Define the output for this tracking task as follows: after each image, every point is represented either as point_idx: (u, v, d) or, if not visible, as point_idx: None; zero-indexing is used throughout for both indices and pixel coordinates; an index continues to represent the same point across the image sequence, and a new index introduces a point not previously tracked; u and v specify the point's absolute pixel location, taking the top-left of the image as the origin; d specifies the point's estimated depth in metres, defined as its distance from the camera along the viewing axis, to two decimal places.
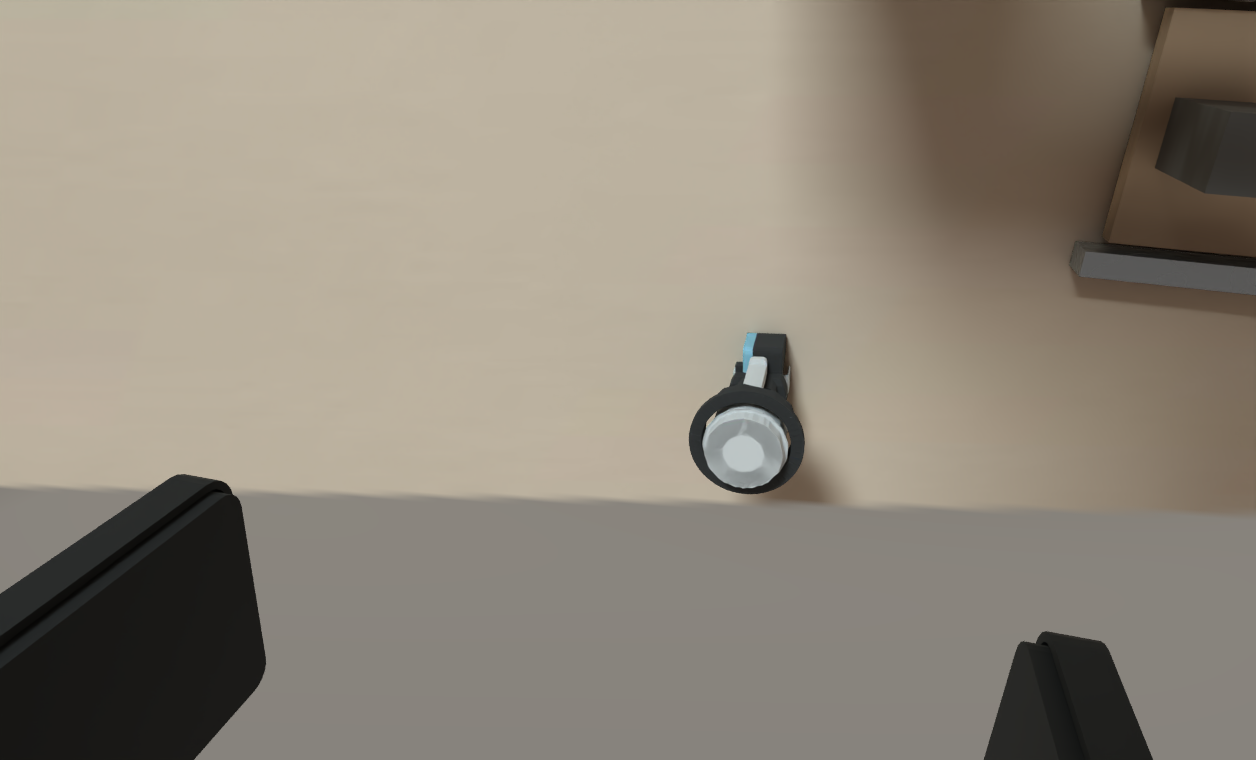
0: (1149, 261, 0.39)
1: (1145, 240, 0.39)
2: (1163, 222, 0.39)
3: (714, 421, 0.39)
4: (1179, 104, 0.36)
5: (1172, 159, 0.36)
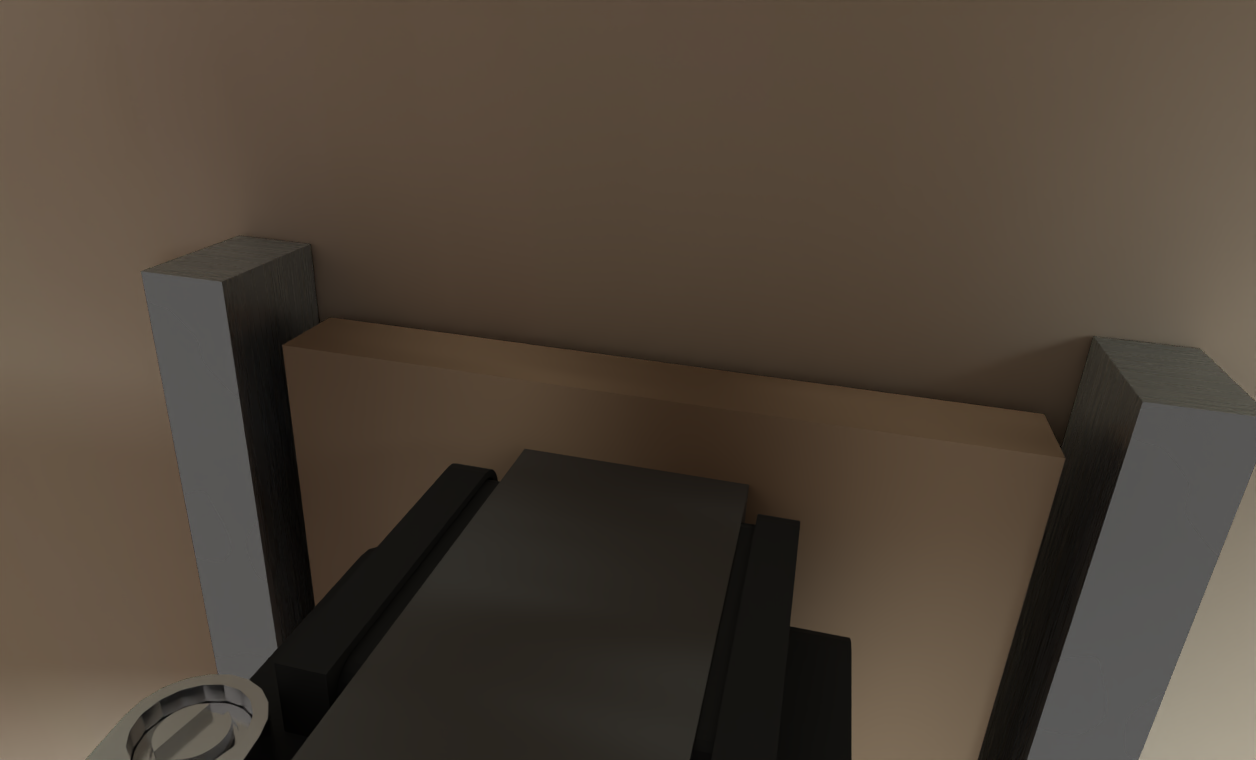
0: (240, 466, 0.12)
1: (310, 444, 0.12)
2: (370, 485, 0.12)
3: None
4: (724, 510, 0.10)
5: (525, 528, 0.10)
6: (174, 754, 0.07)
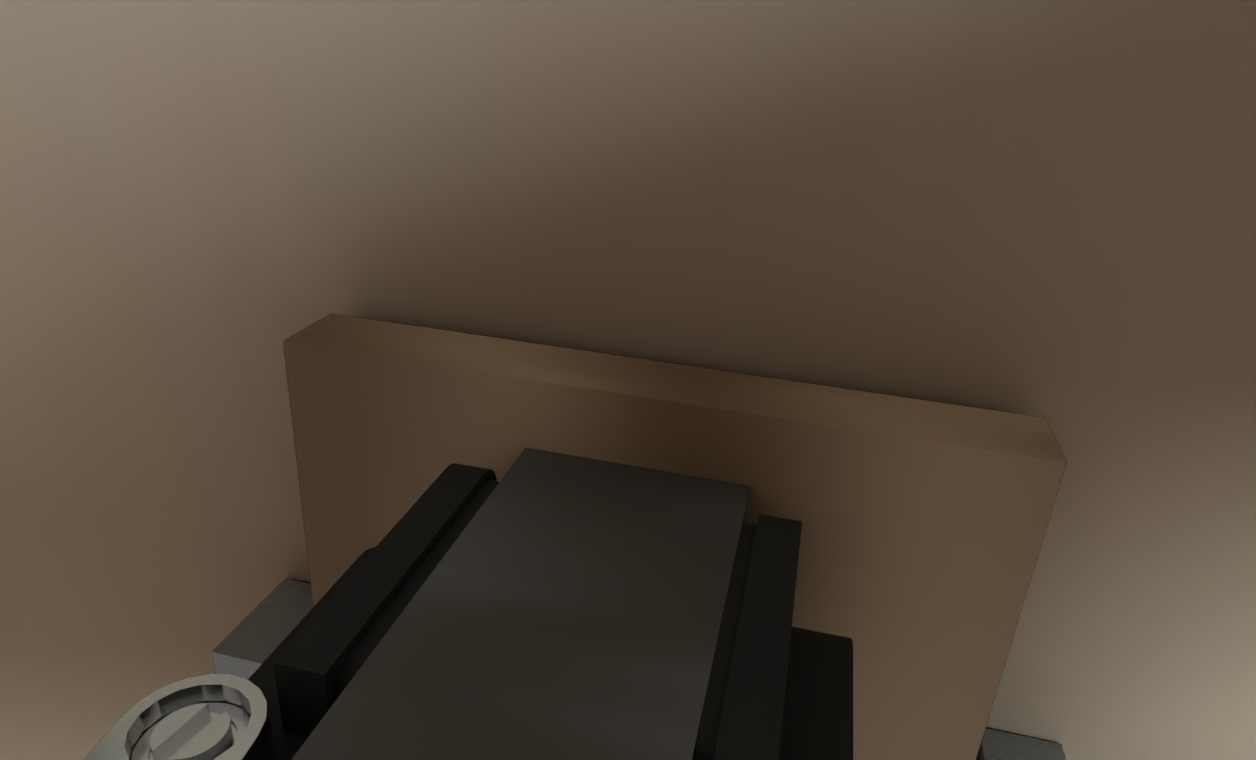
0: None
1: (310, 441, 0.12)
2: (369, 482, 0.12)
3: None
4: (725, 511, 0.10)
5: (526, 527, 0.10)
6: (172, 754, 0.07)
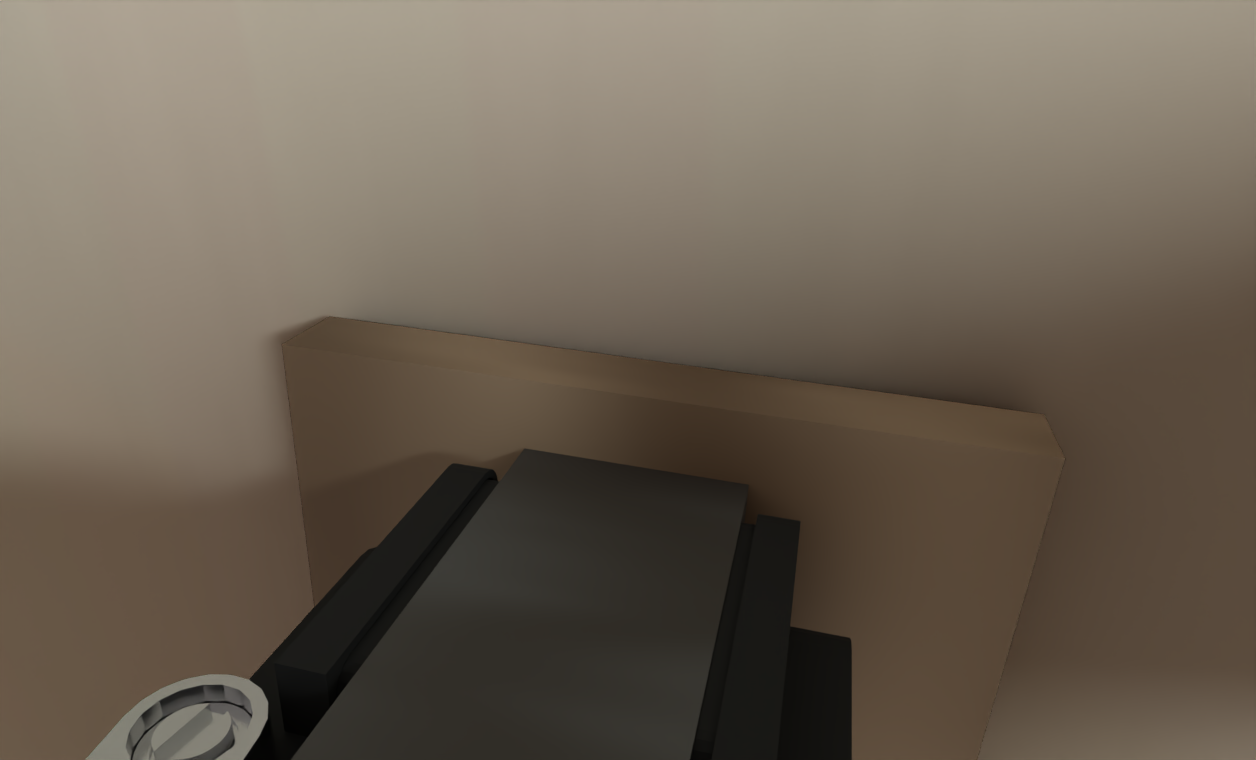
0: None
1: (310, 444, 0.12)
2: (369, 484, 0.12)
3: None
4: (723, 510, 0.10)
5: (524, 528, 0.10)
6: (174, 754, 0.07)
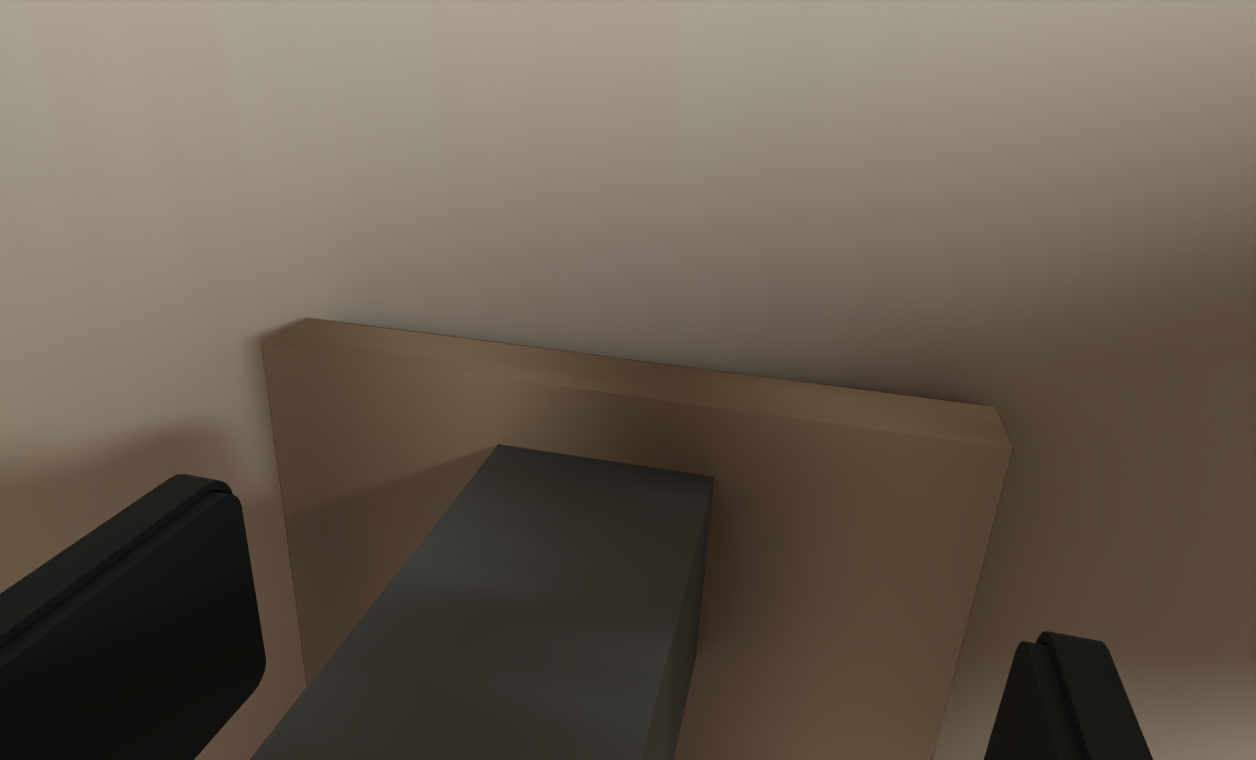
0: None
1: (290, 442, 0.13)
2: (348, 481, 0.13)
3: None
4: (689, 501, 0.11)
5: (496, 519, 0.10)
6: None
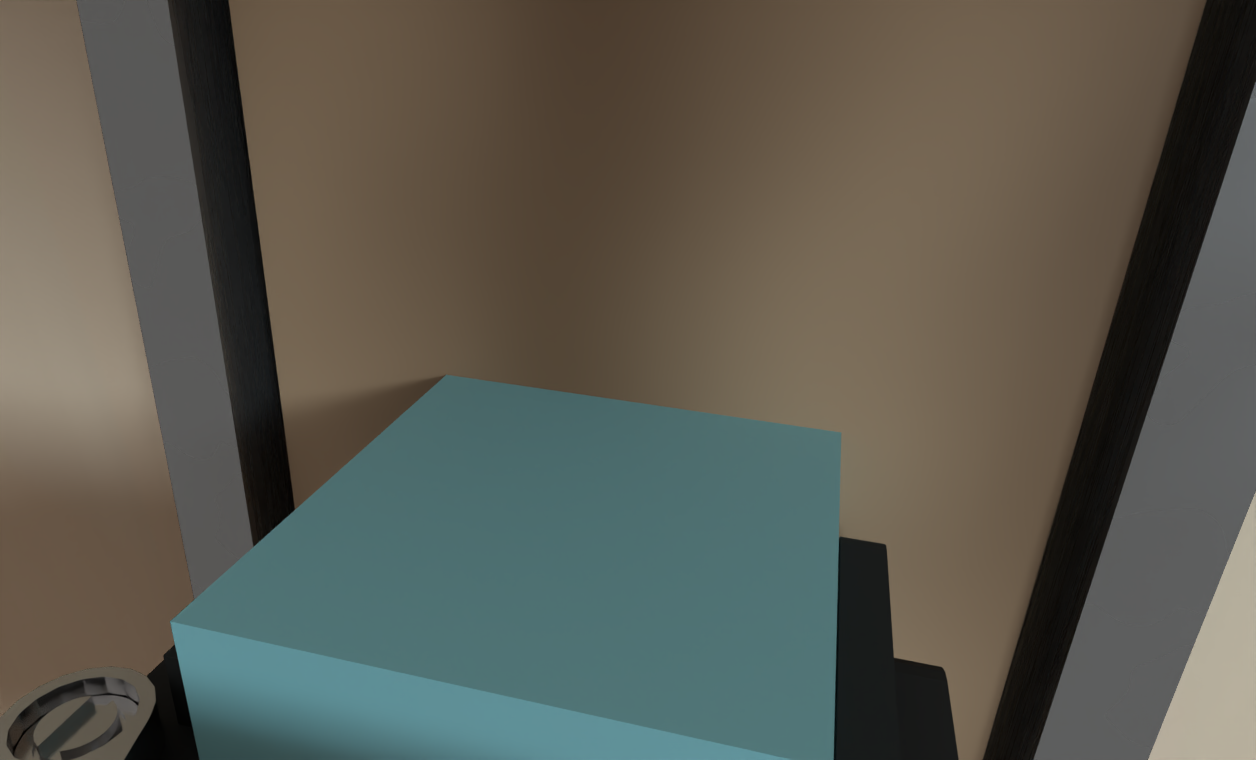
0: None
1: None
2: None
3: None
4: None
5: None
6: (59, 747, 0.07)
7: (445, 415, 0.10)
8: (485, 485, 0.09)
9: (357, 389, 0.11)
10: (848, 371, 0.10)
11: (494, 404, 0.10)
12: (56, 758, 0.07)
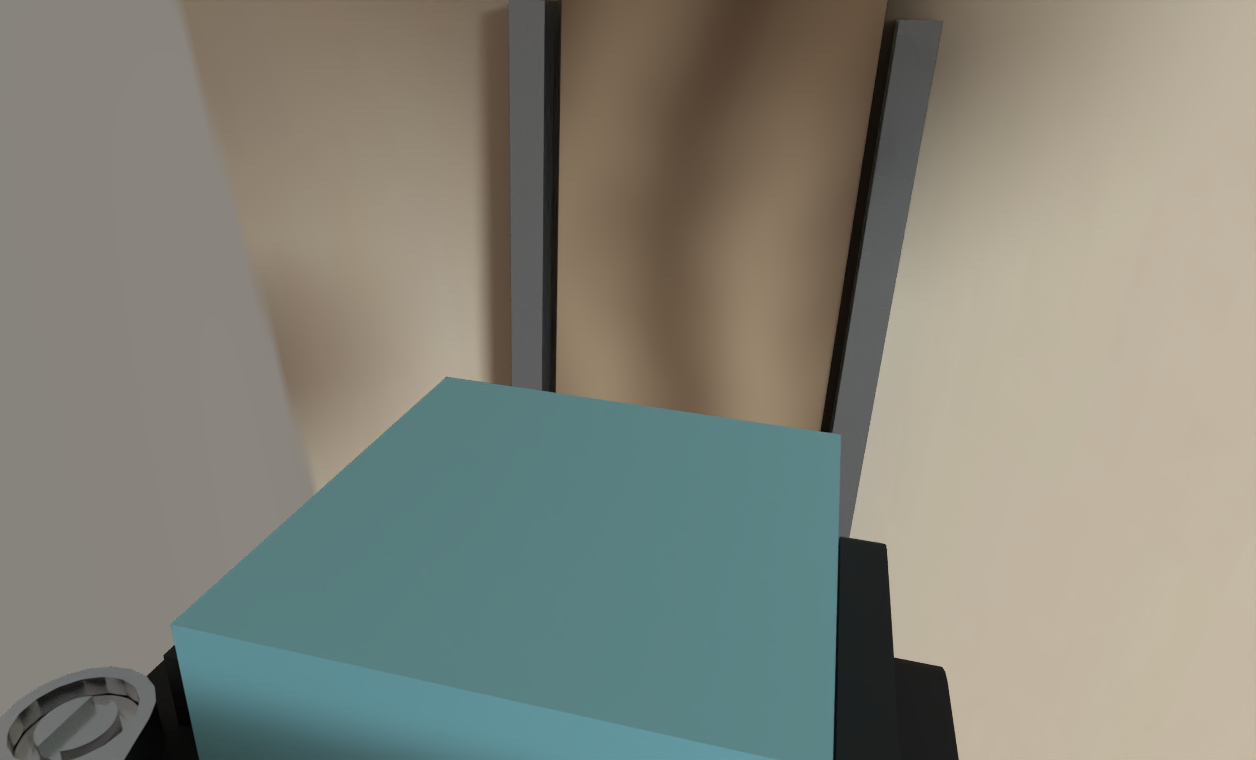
0: (539, 92, 0.28)
1: None
2: None
3: None
4: None
5: None
6: (59, 747, 0.07)
7: (445, 417, 0.10)
8: (485, 487, 0.09)
9: (589, 275, 0.31)
10: (768, 262, 0.29)
11: (493, 406, 0.10)
12: (56, 758, 0.07)
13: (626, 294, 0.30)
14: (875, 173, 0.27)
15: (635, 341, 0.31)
